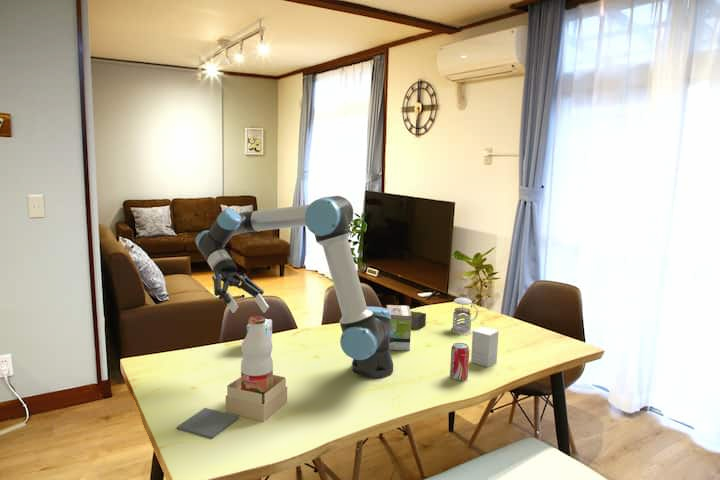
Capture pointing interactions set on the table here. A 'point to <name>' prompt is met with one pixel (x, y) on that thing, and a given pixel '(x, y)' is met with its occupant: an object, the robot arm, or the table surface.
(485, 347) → the supplement box
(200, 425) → the coaster
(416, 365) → the table surface
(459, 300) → the french press
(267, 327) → the light bulb box
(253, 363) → the fruit juice
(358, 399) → the table surface
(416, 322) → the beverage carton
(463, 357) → the soda can
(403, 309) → the tea box
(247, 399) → the carton
